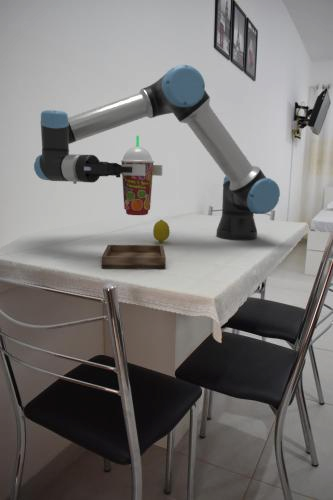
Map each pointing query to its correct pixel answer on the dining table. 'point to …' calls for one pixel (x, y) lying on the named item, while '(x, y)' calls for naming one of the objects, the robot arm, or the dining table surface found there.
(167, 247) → the dining table surface
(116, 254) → the walnut tray
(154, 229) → the lemon
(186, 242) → the dining table surface
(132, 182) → the smoothie
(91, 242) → the dining table surface
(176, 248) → the dining table surface
